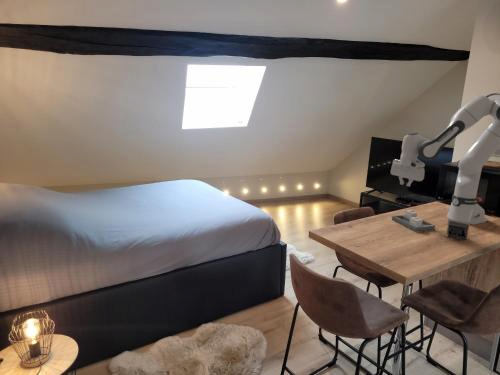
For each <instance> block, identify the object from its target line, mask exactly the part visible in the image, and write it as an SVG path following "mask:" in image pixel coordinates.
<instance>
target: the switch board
mask: <svg viewBox="0 0 500 375" xmlns="http://www.w3.org/2000/svg"><path fill="white" fill-rule="evenodd" d="M417 218H419V219H421V218H420V217H418V216H417ZM391 220H392V221H393V222H395V223H397V224H399V225H400V226H403V227H404V228H406V229H409V230H410V231H413V232H414V233H417V232H426V231H435V228H436V225H435V224H432V223H430V222H429V221H426V220H424V219H421V220H423V221H422V226H417V227H415V226H413V225H411V224H409V222H410V218H408V217H405V214H399V215H398V214H397V215H392V216H391Z"/></svg>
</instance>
